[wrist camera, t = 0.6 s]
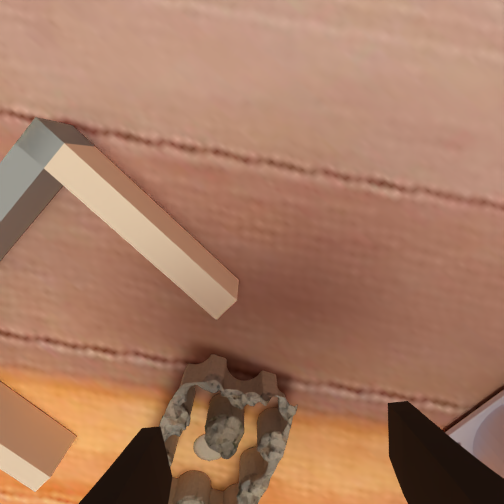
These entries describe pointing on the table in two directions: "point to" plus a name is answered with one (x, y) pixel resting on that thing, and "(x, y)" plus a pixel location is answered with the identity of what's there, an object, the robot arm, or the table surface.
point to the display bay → (120, 220)
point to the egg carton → (227, 432)
